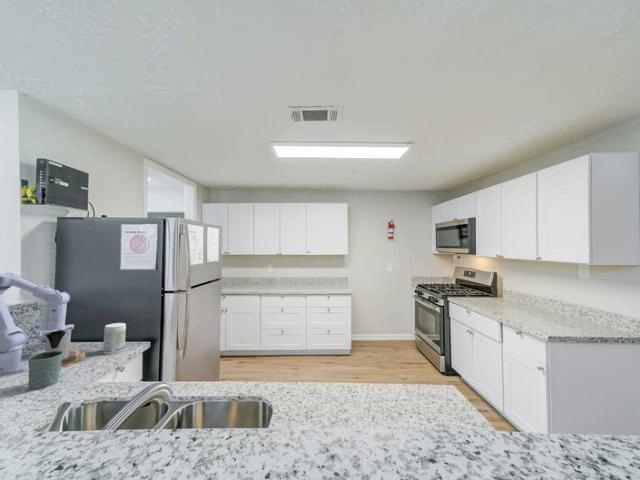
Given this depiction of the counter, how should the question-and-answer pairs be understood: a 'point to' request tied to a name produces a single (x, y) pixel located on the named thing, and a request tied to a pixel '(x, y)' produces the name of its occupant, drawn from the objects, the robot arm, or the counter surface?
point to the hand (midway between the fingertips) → (54, 347)
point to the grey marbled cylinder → (61, 343)
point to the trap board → (71, 361)
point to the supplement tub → (114, 338)
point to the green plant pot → (44, 369)
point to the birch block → (76, 354)
